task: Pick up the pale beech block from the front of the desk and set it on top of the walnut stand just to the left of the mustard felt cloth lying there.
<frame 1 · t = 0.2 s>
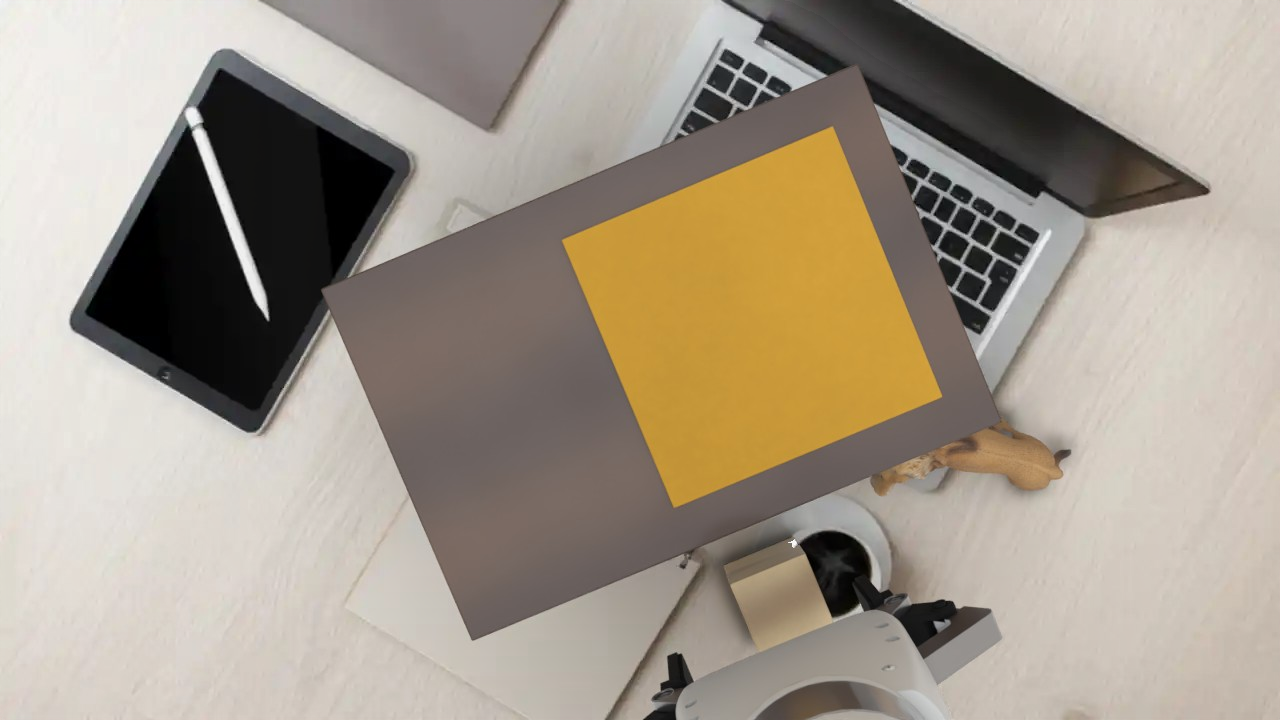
hand: (777, 643, 53), 19 cm above the table, tool pointing down, fingers open, 9 cm apart
walnut stand: (653, 339, 71), on the table
felt cloth: (751, 318, 45), resting on walnut stand
lion figurine: (946, 447, 72), on the table
beech block: (772, 585, 72), on the table
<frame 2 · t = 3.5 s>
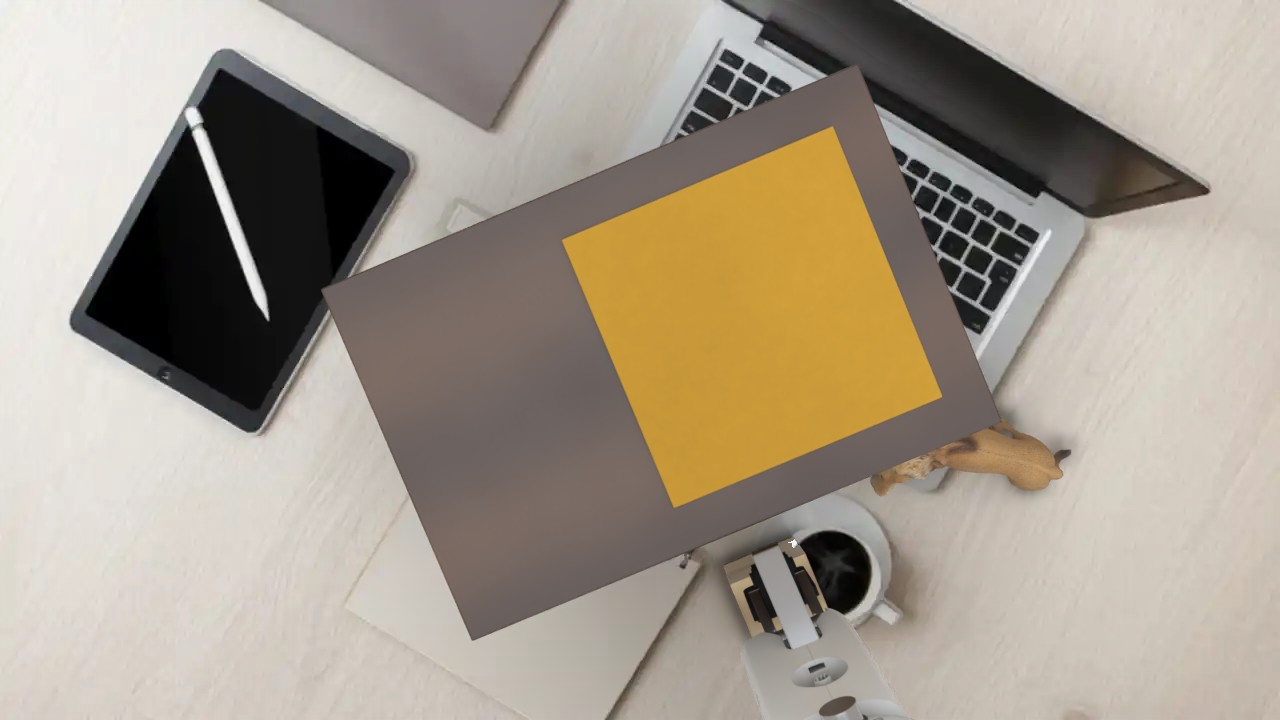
hand: (812, 672, 54), 18 cm above the table, tool pointing down, fingers open, 9 cm apart
nothing on the table moved.
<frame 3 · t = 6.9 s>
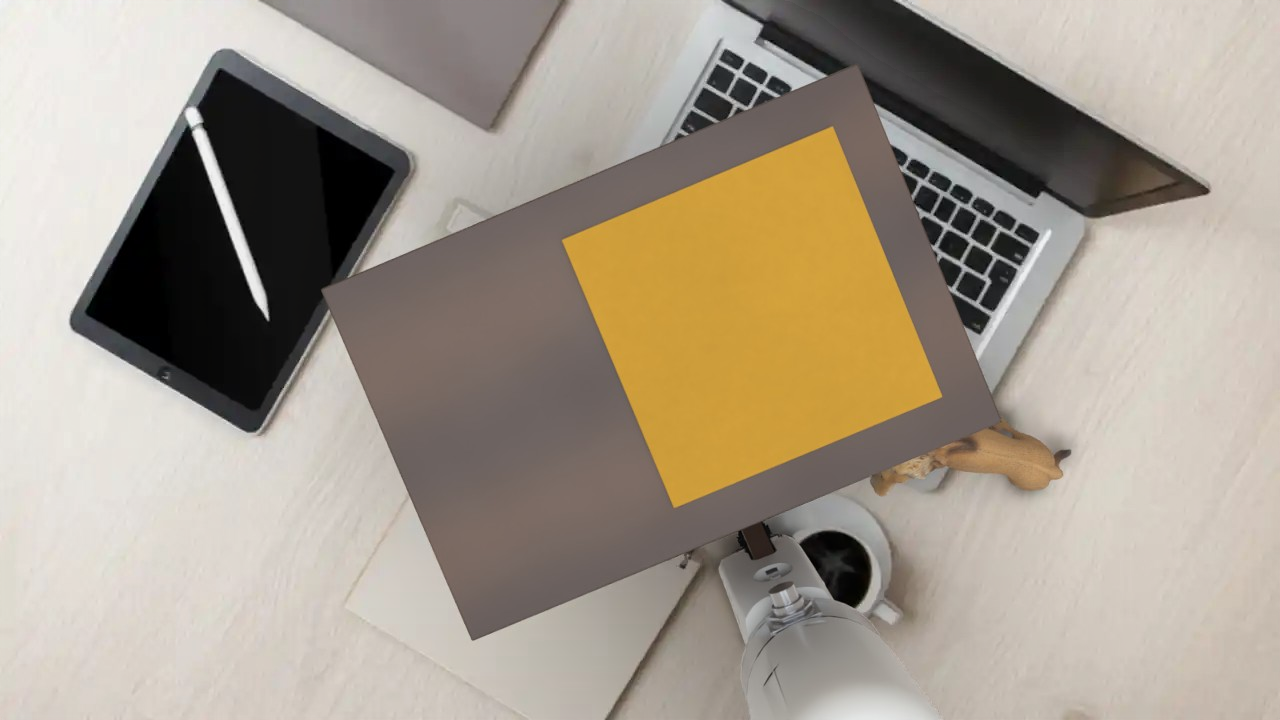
hand: (774, 587, 72), 1 cm above the table, tool pointing down, fingers closed on beech block, 5 cm apart
beech block: (772, 585, 72), on the table, touching gripper
everything else where it was.
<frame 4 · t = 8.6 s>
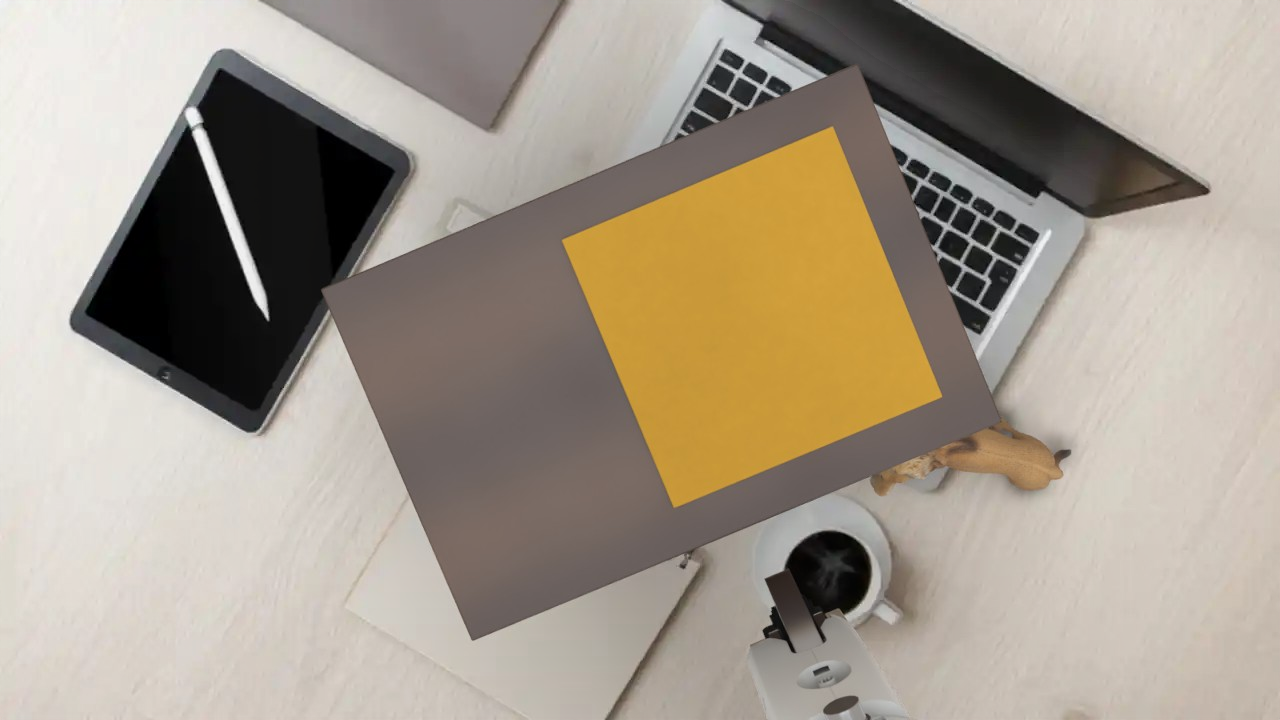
hand: (814, 674, 56), 16 cm above the table, tool pointing down, fingers closed on beech block, 5 cm apart
beech block: (812, 670, 57), point 16 cm above the table, touching gripper
everything else where it was.
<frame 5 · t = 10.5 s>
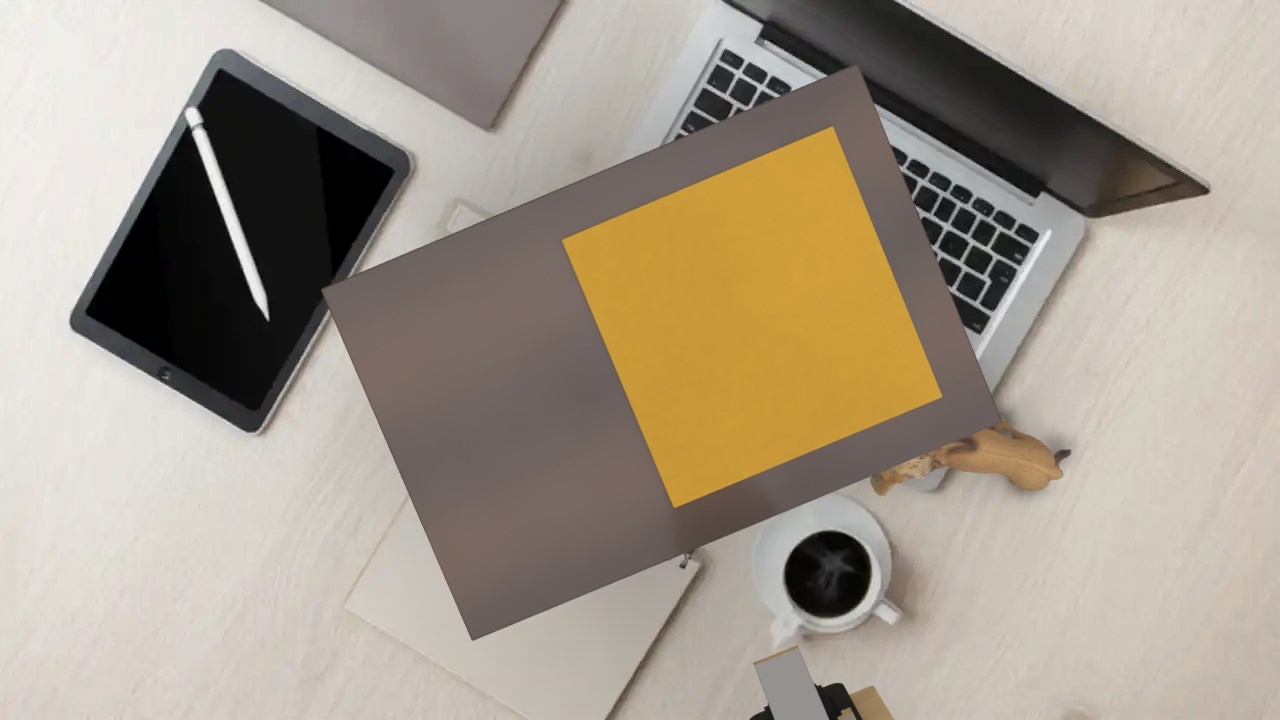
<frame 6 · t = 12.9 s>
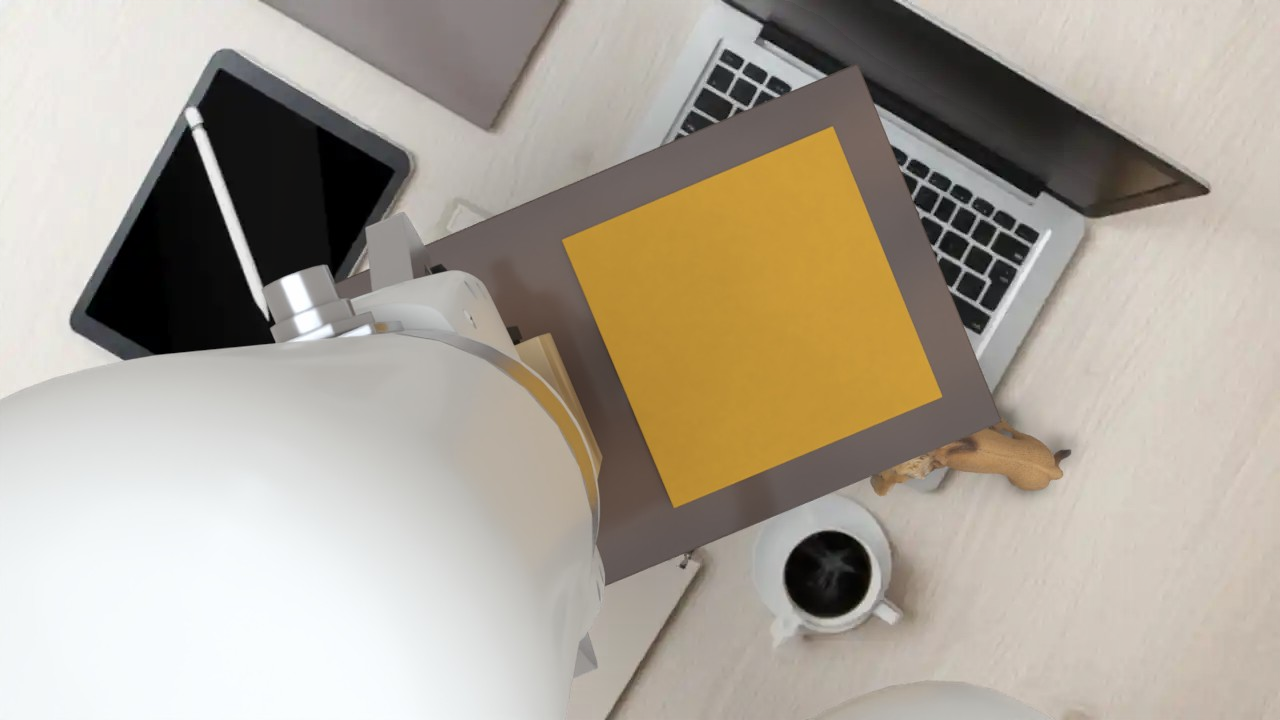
hand: (511, 423, 40), 32 cm above the table, tool pointing down, fingers closed on beech block, 5 cm apart
beech block: (513, 421, 40), point 31 cm above the table, touching gripper
everything else where it was.
when the fingers open (27 cm above the table, at t = 14.5 s): beech block stays where it is, resting on walnut stand.
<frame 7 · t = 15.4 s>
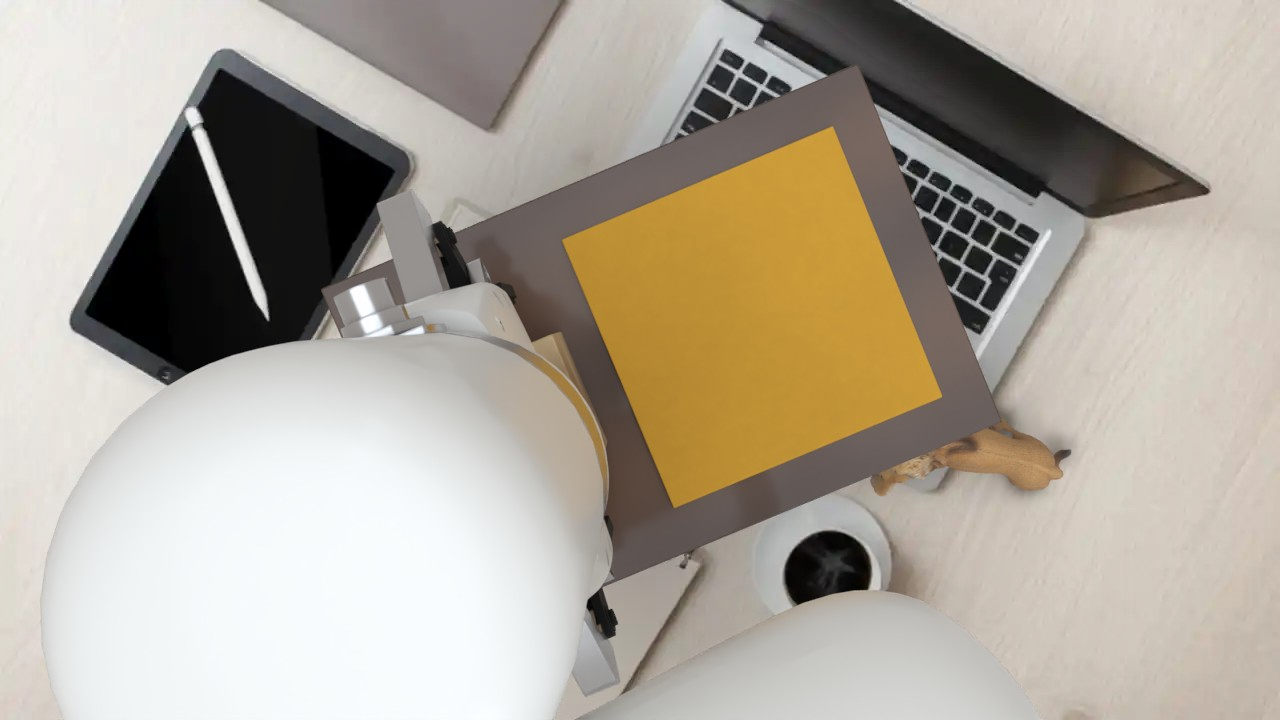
hand: (526, 421, 43), 28 cm above the table, tool pointing down, fingers open, 9 cm apart
beech block: (529, 410, 46), point 26 cm above the table, touching walnut stand
everything else where it was.
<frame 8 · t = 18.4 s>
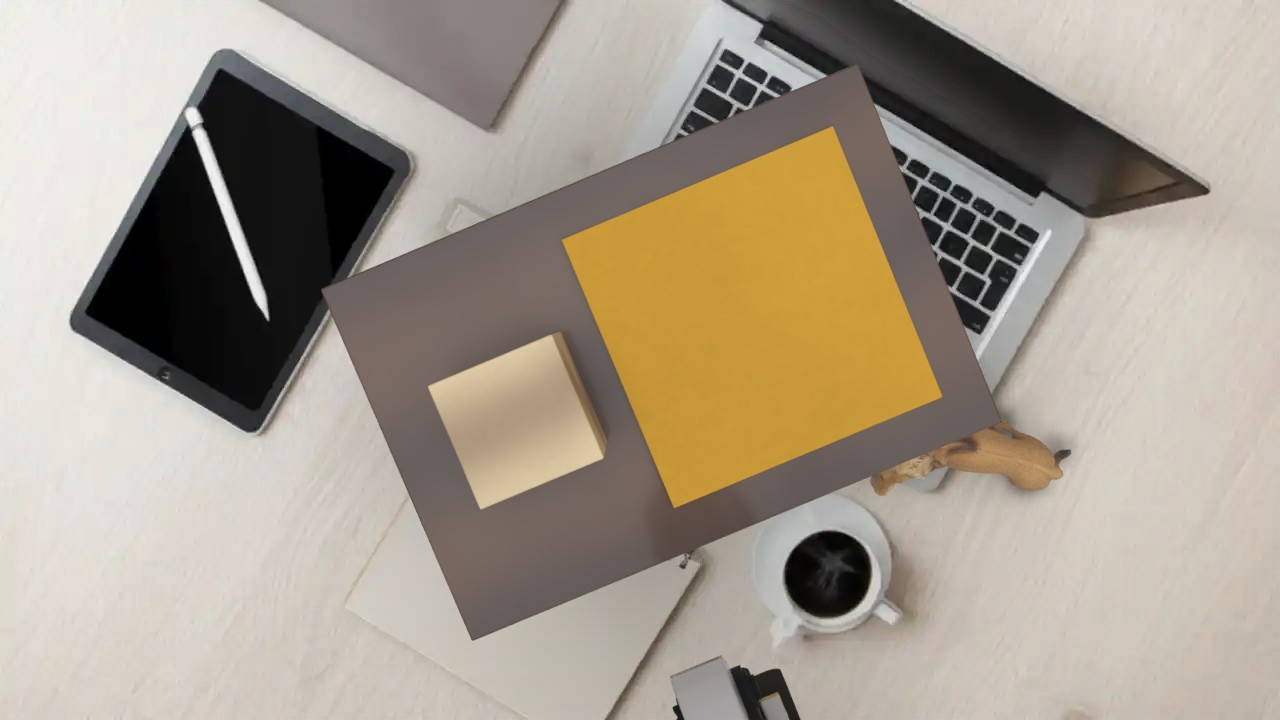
nothing on the table moved.
at the end: beech block inside the target area on the table beside the felt cloth (0.5 cm from its centre), resting on walnut stand; beech block touching walnut stand; beech block tilted 0° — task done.
